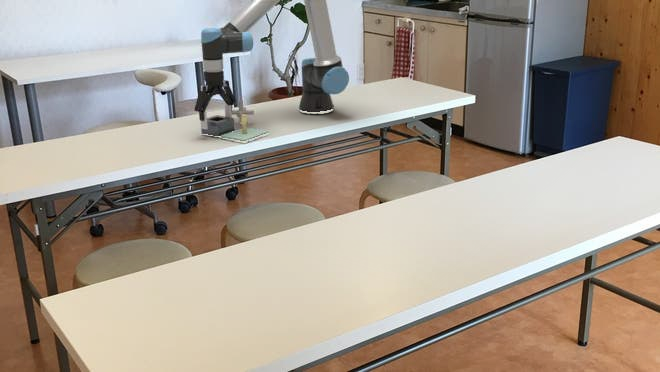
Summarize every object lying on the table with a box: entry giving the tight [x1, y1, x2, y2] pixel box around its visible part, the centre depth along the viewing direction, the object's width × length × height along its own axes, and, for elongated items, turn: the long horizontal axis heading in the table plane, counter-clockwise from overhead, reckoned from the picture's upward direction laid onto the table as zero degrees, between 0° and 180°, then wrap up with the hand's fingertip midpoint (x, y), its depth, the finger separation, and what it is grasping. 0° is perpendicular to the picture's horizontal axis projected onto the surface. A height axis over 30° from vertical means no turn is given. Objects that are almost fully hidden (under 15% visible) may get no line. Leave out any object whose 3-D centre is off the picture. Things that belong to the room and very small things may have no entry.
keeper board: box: [221, 114, 269, 141], centre depth 268 cm, size 14×12×9 cm
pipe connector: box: [232, 99, 255, 123], centre depth 287 cm, size 10×10×10 cm
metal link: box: [200, 115, 236, 136], centre depth 274 cm, size 9×9×6 cm
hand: (216, 125), depth 274 cm, fingers open, 13 cm apart
